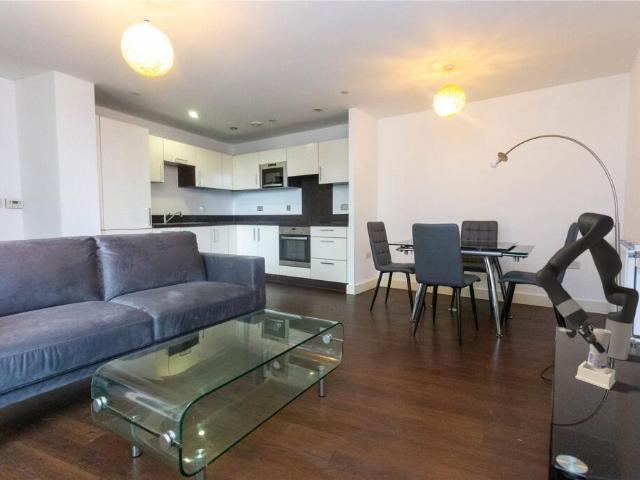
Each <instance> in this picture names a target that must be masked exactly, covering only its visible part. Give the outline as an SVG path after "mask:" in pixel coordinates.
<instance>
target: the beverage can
mask: <svg viewBox="0 0 640 480" xmlns="http://www.w3.org/2000/svg"><path fill="white" fill-rule="evenodd" d="M592 331H593V333H594V334H595V338H596V339H597V340H598V342H599V343H600V344H601V345H602V346H603V348H604V349H605V350H606V351H605V352H604V353H599V352H598V351H597V349H596V348H595V347H594V346H593V345H591V344H589V349H588V356H587V363H588V364H589V365H590V366H592V367H594V368H597V369H605V368H607V360H608V350H609V344H610V338H611V332H610V331H608V330H605V328H601V327H596V328H593V330H592ZM598 342H597V343H598Z"/></svg>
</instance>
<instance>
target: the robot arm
mask: <svg viewBox="0 0 640 480" xmlns="http://www.w3.org/2000/svg"><path fill="white" fill-rule="evenodd" d="M614 224H615V221H614V219H613V217H611V216H610V215H607V214H602V213H597V212H588V211H587V212H583V213H581V214H580V215H579V216H578V218H577V224H576V225H577V228H578V231H579V233H580V235H581V237H580V238H578V239H577V240H575V241H573V242H571V243H568V244H567V245H564V246H562V247H561V248H560V249H558V250H557V251H556V252H555V253H554V254H553V255H552V257H550V258H549V260H548V261H547V263H545V265H544V266H543V267H542V268H541V269H539V270H537V271H536V273H535V274H534V276H533V282H534V285H535V286H537V287H539V288H542V289H543V290H544V292H546V295H547V297H548V299H549V300H550V301H551V303H553V305H554V306H555V307H556V309H557V310H558V312H559V314H560V315H561V316H562V317H563V318H564V319H565V321H566V322H567V323H568V325H569V326H570V327H575V326H576V327H577V328H578V330H577V332H578V334H579V335H580V337H582V338H583V340H585V341H586V343H587V344H588V345H590V344H591V345H593V346H594V347H595V348H596V349H597V351H598V352H599V353H604V352H605V351H606V350H605V349H604V348H603V346H602V345H601V344H600V343H599V342H598V340H597V339H596V338H595V334H594V333H593V331H592V330H593V328H597V327H596V326H595V323H593V322H589V321H587V320H589V319H590V315H589V314H588V313H587V312H586V311H585V310H584V308H582V306H581V305H580V304H579V303H578V302H577V301H576V299H574V298H573V297H572V296H571V295H570V293H569V292H568V291H566V289H565V288H564V287H563V285H562V284H561V282H560V280H559V279H558V278H559V276H560V275H561V274H562V273H563V272H564V271H566V270H567V268H568V267H570V265H572V264H573V263H574V262H575V260H577V258H578V257H580V256H581V255H582V254H583V253H585V251H587V250H588V251H589V253H590V255H591V257H592V260H593V264H594V266H595V268H596V271H597V273H598V276H599V279H600V282H601V285H602V290H603V294H604V298H605V300H606V301H607V303H609V304H611V305H614V306H617V307H621V310H620V311H619V310H618V311H609V312H608V313H607V314H606V315H607V316H606V322H605V327H604V329H605V330H608V331H610V332H611V338H610V344H609V350H608V356H607V358H608V357H609V358H611V359H615V360H621V361H627V360H628V359H629V354H630V353H629V351H630V346H631V339H632V332H633V327H634V326H633V325H634V319H635V318H636V314H637V308H638V305H639V301H640V293H639V291H638V290H637V289H635V288H632V287H625V286H622V285H619V284H617V282H616V278H617V277H618V275H619V274H620V273H621V271H622V269H623V263H622V260H621V257H620V255H619V253H618V252H619V251H617V250H616V249H615V247H614V246H612V245H611V244H610V242H609V241H607V240H606V239H605V237H606V236H607V235H608V234H610V233H611V231H612V230H613V228H614ZM597 342H598V343H597Z"/></svg>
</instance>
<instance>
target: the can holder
mask: <svg viewBox="0 0 640 480" xmlns="http://www.w3.org/2000/svg"><path fill="white" fill-rule="evenodd" d="M587 362H588V360H587V361H586V360H584V361H583V362H582V363H580V364H579V366H578V367H577V374H576V375H575V377H574V378H575V379H576V380H580V381H583V382H586V383H588V384H591V385H594V386H597V387H599V388H602V389H606V390H610V389H611V388H612V387H613V386H614V384H615V383H616V379H615V375H616V370H615V369H612V368H609V367H606V368H605V369H597V368H594V367H592V366H590V365H589V364H588V363H587Z"/></svg>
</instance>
